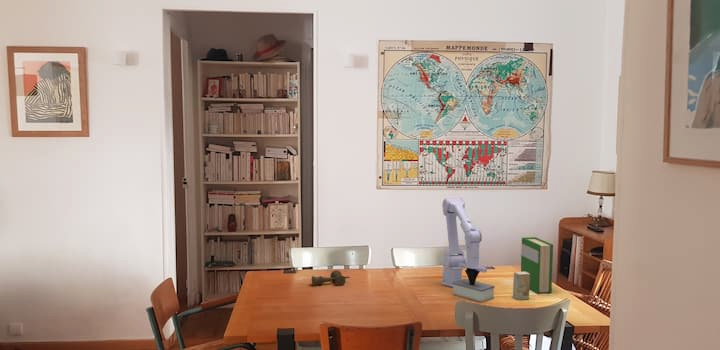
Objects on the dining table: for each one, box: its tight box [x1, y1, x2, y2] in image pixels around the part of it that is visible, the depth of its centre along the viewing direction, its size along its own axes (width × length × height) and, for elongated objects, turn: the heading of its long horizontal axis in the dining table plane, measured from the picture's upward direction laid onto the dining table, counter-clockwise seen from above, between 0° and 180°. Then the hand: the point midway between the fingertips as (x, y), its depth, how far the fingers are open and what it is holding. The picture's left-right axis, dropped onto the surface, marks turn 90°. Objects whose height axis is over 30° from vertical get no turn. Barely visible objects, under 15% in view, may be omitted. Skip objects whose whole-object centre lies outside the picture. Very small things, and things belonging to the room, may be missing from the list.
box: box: [452, 284, 495, 303], centre depth 255 cm, size 16×10×5 cm, turn 43°
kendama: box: [311, 270, 351, 287], centre depth 274 cm, size 6×10×20 cm
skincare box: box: [512, 271, 530, 301], centre depth 252 cm, size 6×4×12 cm
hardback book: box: [520, 236, 554, 295], centre depth 267 cm, size 18×7×24 cm, turn 9°
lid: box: [452, 278, 495, 292], centre depth 255 cm, size 17×10×1 cm, turn 43°
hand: (472, 284), depth 254 cm, fingers closed, pressing on lid
